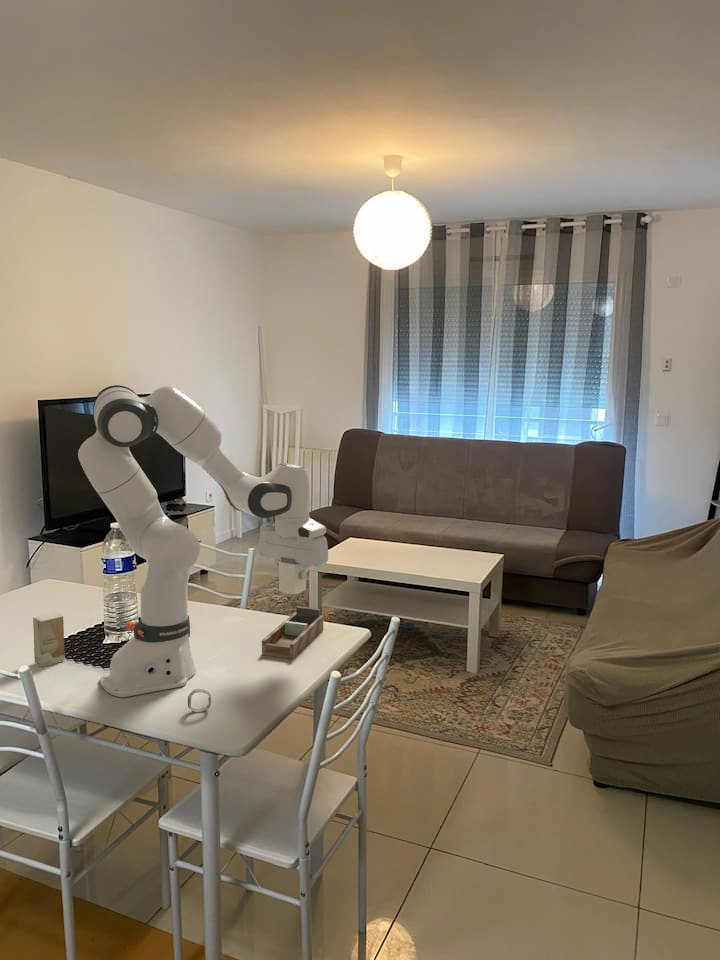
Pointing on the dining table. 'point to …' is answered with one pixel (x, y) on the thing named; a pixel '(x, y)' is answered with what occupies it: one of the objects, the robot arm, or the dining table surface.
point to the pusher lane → (291, 644)
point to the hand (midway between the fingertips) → (292, 577)
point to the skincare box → (48, 639)
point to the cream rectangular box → (290, 577)
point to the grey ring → (190, 700)
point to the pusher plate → (294, 628)
